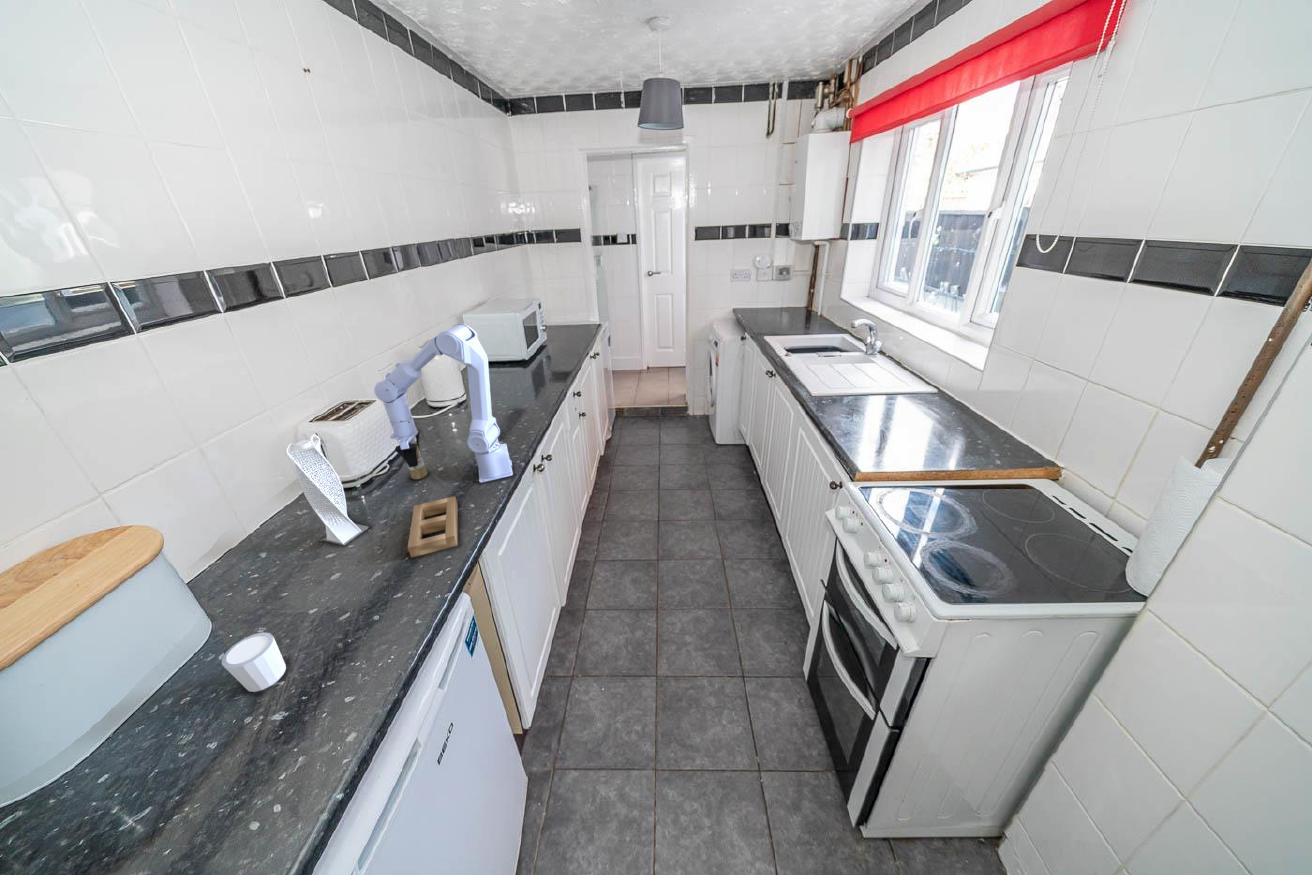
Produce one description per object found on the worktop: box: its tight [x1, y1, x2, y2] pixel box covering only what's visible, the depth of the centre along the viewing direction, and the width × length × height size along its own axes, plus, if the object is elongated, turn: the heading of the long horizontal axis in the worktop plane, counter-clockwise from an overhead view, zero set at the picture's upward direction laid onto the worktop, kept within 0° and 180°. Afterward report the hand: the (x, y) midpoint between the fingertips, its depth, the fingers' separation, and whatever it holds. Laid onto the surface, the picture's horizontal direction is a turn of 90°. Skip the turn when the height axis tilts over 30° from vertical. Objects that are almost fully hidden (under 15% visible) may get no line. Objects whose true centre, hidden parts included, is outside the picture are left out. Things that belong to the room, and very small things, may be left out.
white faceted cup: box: [221, 632, 287, 693], centre depth 77 cm, size 7×7×7 cm
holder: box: [407, 495, 459, 558], centre depth 112 cm, size 10×18×3 cm, turn 21°
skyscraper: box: [285, 433, 370, 546], centre depth 106 cm, size 8×8×28 cm
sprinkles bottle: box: [405, 437, 428, 480], centre depth 134 cm, size 5×5×14 cm
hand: (415, 460), depth 135 cm, fingers open, 7 cm apart
